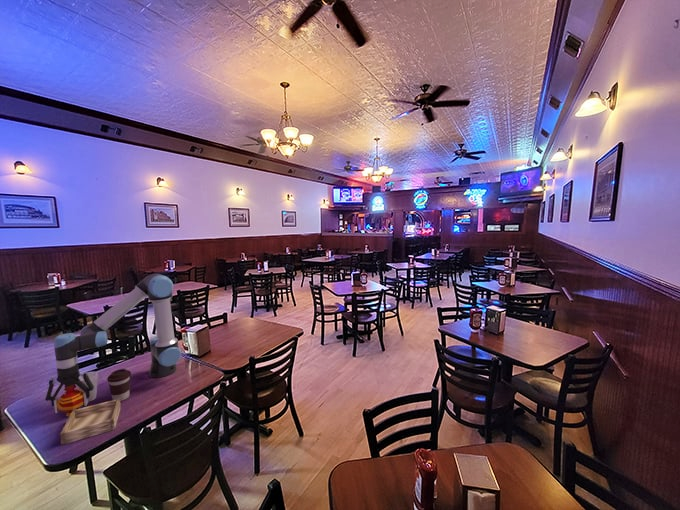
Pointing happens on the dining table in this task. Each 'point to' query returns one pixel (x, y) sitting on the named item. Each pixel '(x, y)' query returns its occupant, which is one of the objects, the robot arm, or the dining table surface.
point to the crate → (91, 421)
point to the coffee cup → (119, 384)
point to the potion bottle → (70, 399)
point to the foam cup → (94, 378)
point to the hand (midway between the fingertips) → (72, 407)
